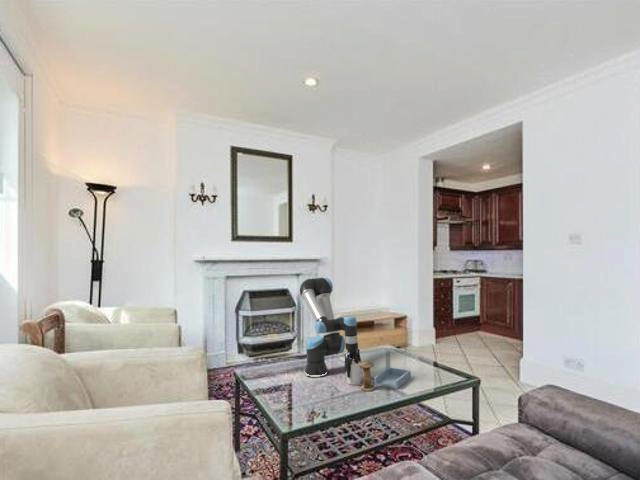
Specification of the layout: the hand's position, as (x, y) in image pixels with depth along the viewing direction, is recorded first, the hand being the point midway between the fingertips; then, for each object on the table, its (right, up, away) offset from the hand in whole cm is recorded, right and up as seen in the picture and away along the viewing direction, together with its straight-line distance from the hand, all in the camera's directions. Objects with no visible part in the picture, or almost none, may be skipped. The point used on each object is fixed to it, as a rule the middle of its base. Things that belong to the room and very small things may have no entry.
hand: (354, 379), depth 209 cm
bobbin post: (+7, -1, -11) cm, 13 cm away
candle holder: (0, -2, 0) cm, 2 cm away
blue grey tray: (+23, 0, -2) cm, 23 cm away
